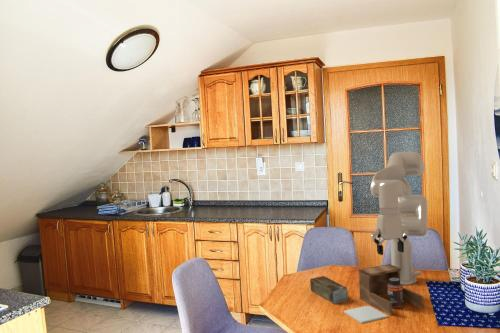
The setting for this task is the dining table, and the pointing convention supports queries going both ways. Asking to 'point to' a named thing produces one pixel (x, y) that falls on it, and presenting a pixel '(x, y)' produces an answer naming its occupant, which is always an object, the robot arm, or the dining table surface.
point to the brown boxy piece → (383, 287)
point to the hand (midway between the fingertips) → (390, 253)
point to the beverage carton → (329, 289)
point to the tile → (365, 314)
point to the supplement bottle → (395, 293)
